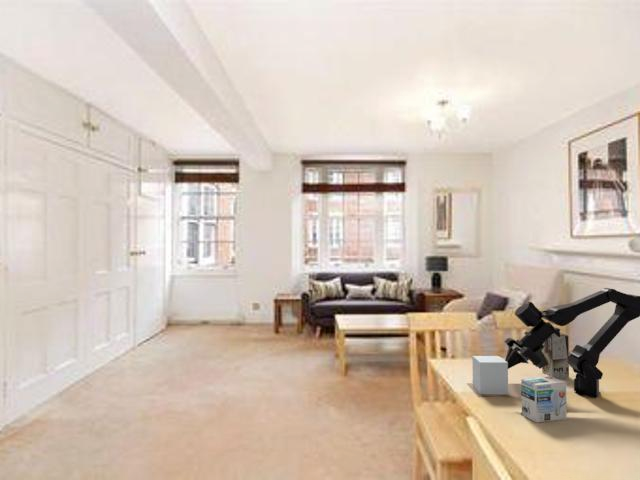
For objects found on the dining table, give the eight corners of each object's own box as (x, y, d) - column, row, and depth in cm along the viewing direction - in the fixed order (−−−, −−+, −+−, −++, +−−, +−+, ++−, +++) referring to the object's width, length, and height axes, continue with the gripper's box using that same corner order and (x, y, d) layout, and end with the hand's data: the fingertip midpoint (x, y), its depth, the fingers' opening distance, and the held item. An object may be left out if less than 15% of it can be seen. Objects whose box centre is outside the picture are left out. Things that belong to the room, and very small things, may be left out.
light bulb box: (536, 423, 130) (536, 385, 130) (520, 415, 137) (520, 378, 137) (567, 419, 133) (567, 381, 133) (550, 411, 140) (549, 375, 140)
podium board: (523, 387, 163) (523, 383, 163) (541, 401, 148) (541, 397, 148) (466, 386, 164) (466, 383, 164) (478, 400, 149) (478, 397, 149)
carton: (499, 386, 161) (498, 355, 161) (508, 394, 152) (507, 362, 152) (472, 386, 161) (472, 355, 161) (480, 394, 152) (479, 362, 152)
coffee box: (570, 378, 173) (569, 335, 173) (552, 378, 173) (551, 335, 173) (557, 372, 182) (557, 331, 182) (541, 372, 182) (540, 331, 182)
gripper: (567, 360, 146) (532, 394, 147) (542, 347, 165) (511, 378, 165) (542, 335, 147) (506, 369, 147) (520, 325, 165) (488, 355, 166)
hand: (504, 368), depth 156 cm, fingers closed
